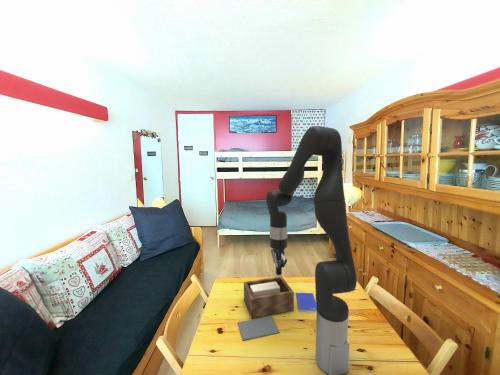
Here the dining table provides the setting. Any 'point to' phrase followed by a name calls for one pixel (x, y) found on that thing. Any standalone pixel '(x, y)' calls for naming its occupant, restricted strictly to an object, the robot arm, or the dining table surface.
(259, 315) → the wooden box
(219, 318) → the dining table surface
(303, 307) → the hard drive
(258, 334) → the mat
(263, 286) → the block
